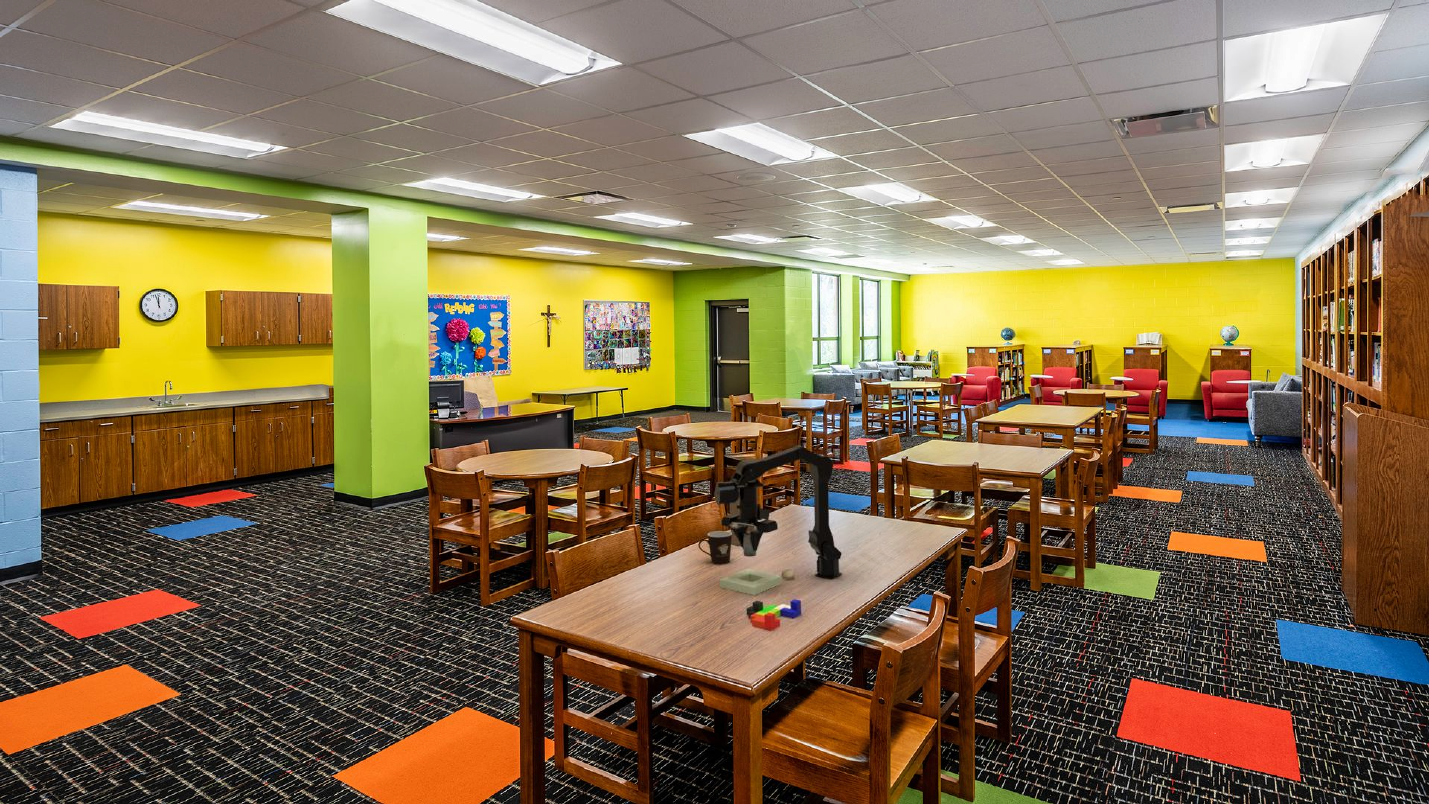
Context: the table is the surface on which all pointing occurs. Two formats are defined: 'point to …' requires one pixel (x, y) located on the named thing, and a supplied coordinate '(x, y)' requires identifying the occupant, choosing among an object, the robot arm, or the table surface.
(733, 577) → the hole board
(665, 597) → the table surface
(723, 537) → the coffee mug
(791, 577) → the short birch pin
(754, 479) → the robot arm
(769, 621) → the building blocks
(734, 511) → the wooden block
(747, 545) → the long steel pin
